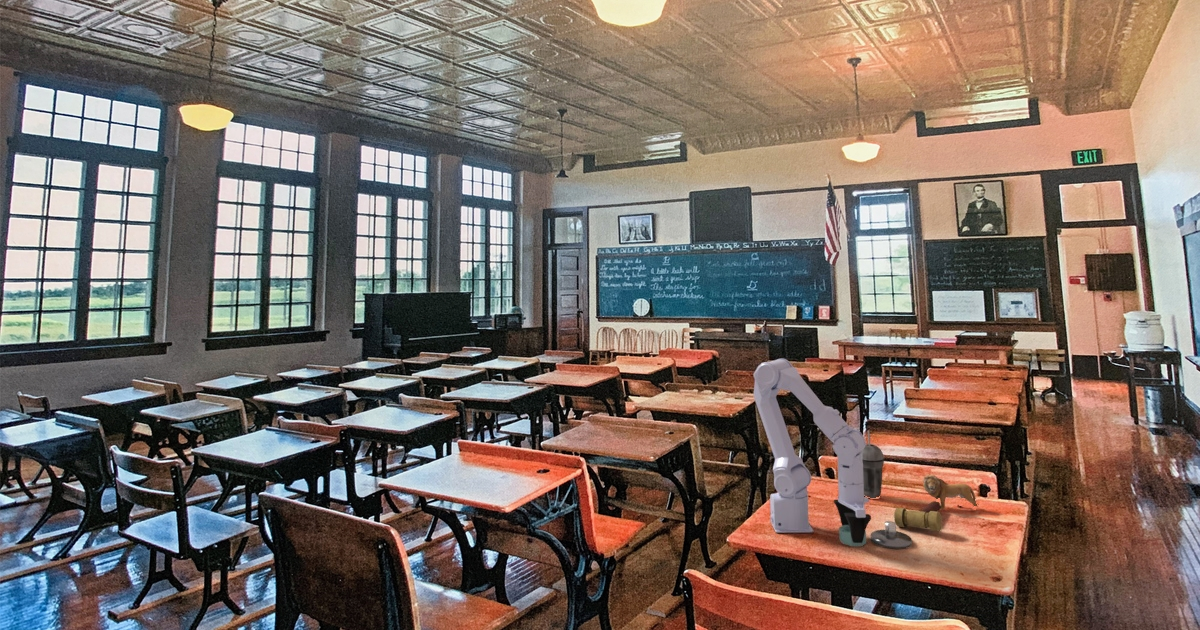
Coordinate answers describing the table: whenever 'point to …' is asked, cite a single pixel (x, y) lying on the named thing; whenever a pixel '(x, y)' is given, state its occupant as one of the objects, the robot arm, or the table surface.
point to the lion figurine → (947, 490)
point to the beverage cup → (872, 469)
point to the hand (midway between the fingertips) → (852, 535)
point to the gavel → (920, 517)
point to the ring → (849, 536)
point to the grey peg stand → (891, 537)
